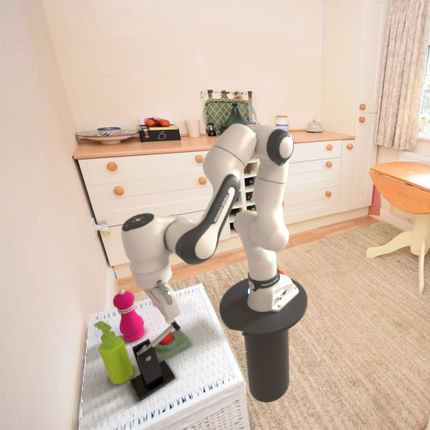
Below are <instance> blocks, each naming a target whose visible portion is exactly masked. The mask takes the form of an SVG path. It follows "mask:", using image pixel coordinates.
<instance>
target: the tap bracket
mask: <svg viewBox="0 0 430 430" xmlns="http://www.w3.org/2000/svg"><path fill="white" fill-rule="evenodd" d="M151 343H152V342H151V340H150V338H147V339H145V340H143V341H141V342H140V343H137V344H135V345H134V346H132V347H131V349H132V354H133V355H134V359H135V362H136V365H137V368H138V371H139V374H138V375H136V376H135V377H133V378H130V379H129V384H130V385H131V388H132V389H133V392H134V393H135V395H136V397H137V399H138V401H139V402H142V401H143V400H144V399H146V398H148V397H149V396H151V395H152V394H154V393H156V392H158V390H160V389H161V388H163V387H165V386H166V385H168V384H169V383H171V382H173V381H174V380H176V375H175V373H174V372H173V370H172V369H171V368H170V366H169V364H168V363H167V361H166V360H163V361H162V362H160V363H159V361H158V358H157V354H156V351H155V348H154V347H152V348H150V349H148V350H147V351H145V352H143V353H141V354H139V355H137V352H138V351H139V350H140V349H141V348H142V347H143V346H144V345H146V346H149V345H150V344H151Z"/></svg>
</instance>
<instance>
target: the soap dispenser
mask: <svg viewBox="0 0 430 430" xmlns="http://www.w3.org/2000/svg"><path fill="white" fill-rule="evenodd" d="M93 327H94V328H96V329H99V330H100V331H101V332H102V335H101V336H100V341H101V344H100V345H99V346H98V352H99V354H100V356H101V360H102V362H103V365H104V368H105V370H106V373H107V375H108V378H109V381H110V383H111V384H113V385H121V384H124V383H126V382H127V381H129V380H131V379H132V376H133V374H134V368H133V364H132V362H131V359H130V355H129V352H128V349H127V347H126V344H125V340H124V337H121V336H117V335H116V332H115V331H113V330H112V329H113V327H112V326H111V325H110V324H108V323H107V322H105V321H102V320H99V321H98V322H96V323H94V324H93Z"/></svg>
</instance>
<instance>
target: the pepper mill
mask: <svg viewBox="0 0 430 430" xmlns="http://www.w3.org/2000/svg"><path fill="white" fill-rule="evenodd" d="M112 304H113V306H114V307H115V308H116V310H117V313H118V314H119V315H120V322H119V325H118V326H119V327H118V328H119V332H120V334H122V336H123V340H124V342H127V343H134V342H136V341H138V340H140V339H141V338H143V336H144V335H145V334H146V329H145V327H144V326H145V321H144V319H143V317H142V316H141V315H139V314H138V313H137V311H136V309H135V308H136V304H135V295H134V293H133V292H131V291H128V290H125V289H122V288H120V289H119V290H118V291H117V293H116V294H115V295H114V297H113V299H112Z"/></svg>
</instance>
